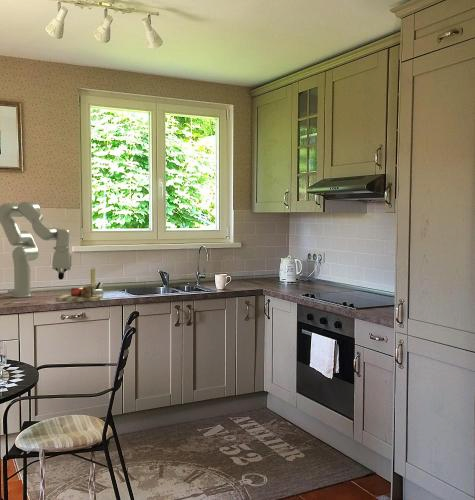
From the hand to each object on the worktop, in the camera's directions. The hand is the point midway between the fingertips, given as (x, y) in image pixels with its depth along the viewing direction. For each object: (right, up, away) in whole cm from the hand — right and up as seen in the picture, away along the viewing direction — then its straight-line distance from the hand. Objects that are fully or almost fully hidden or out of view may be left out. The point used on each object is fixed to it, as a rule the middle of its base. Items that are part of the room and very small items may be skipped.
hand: (60, 279), depth 345 cm
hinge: (+17, -12, +21) cm, 29 cm away
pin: (+16, -10, +1) cm, 19 cm away
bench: (+12, -13, +1) cm, 17 cm away
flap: (+19, -4, +1) cm, 20 cm away
